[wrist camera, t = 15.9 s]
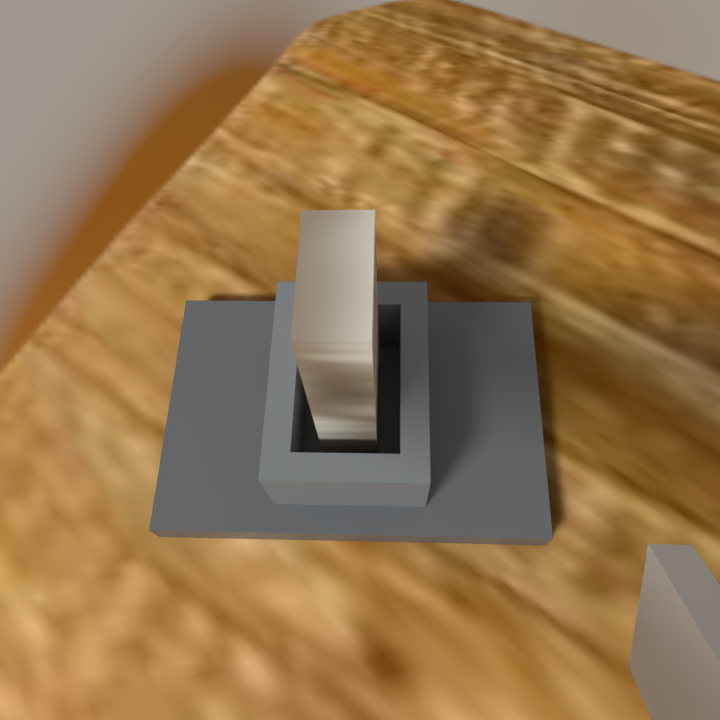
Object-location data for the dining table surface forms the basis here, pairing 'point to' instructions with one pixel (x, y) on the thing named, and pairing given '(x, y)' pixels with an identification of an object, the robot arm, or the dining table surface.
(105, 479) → the dining table surface
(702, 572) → the robot arm
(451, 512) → the rectangular socket base
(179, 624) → the dining table surface
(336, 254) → the slat
